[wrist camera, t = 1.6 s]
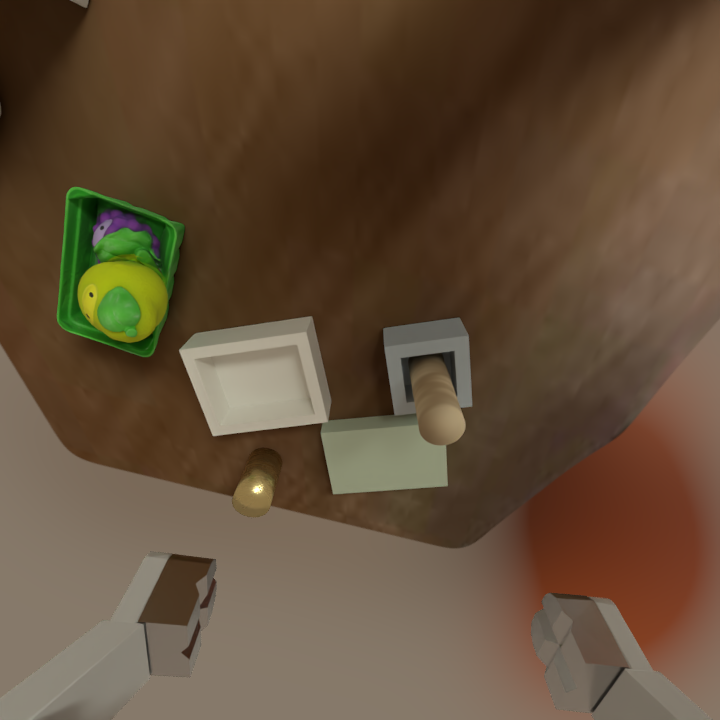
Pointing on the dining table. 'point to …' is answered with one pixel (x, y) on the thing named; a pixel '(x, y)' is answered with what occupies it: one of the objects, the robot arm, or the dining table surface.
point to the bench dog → (257, 483)
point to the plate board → (381, 455)
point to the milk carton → (81, 2)
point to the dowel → (435, 400)
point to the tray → (259, 376)
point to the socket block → (423, 341)
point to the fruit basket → (116, 271)
